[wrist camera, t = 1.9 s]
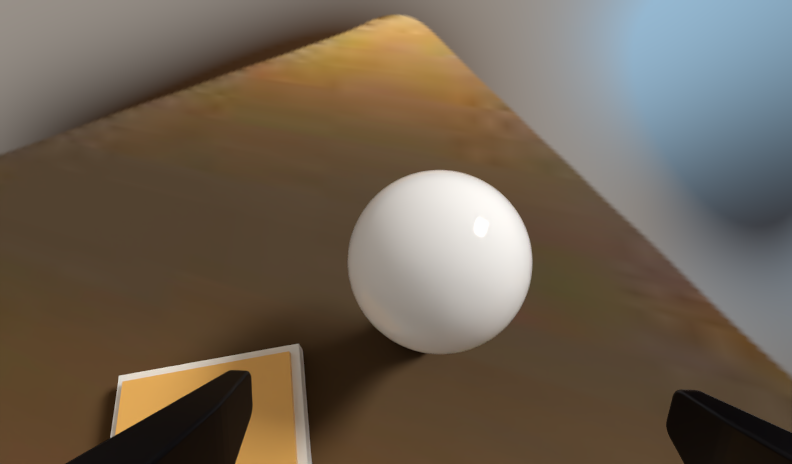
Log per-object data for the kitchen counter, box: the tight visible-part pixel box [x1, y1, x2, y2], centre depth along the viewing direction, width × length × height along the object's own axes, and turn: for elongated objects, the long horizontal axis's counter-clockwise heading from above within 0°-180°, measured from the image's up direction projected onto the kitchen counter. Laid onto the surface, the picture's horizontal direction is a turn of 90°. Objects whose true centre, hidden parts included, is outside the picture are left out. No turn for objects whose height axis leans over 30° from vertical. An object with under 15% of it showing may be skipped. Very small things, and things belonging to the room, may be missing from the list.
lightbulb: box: [347, 170, 532, 354], centre depth 16 cm, size 6×6×11 cm
